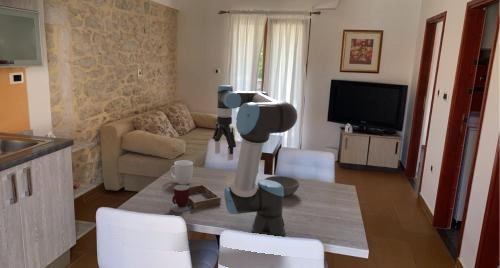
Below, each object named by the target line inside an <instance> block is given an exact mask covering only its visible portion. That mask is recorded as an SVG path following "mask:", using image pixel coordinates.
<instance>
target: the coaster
mask: <svg viewBox="0 0 500 268" xmlns="http://www.w3.org/2000/svg"><path fill="white" fill-rule="evenodd" d="M190 209H191V206H190V205H189V204H188V203H187V204H186V206H185V207H178V205H177V204H174V203H173V204H172V205H171V206H170V210H171V211H172V212H173V213H185V212H188V211H190Z"/></svg>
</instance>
